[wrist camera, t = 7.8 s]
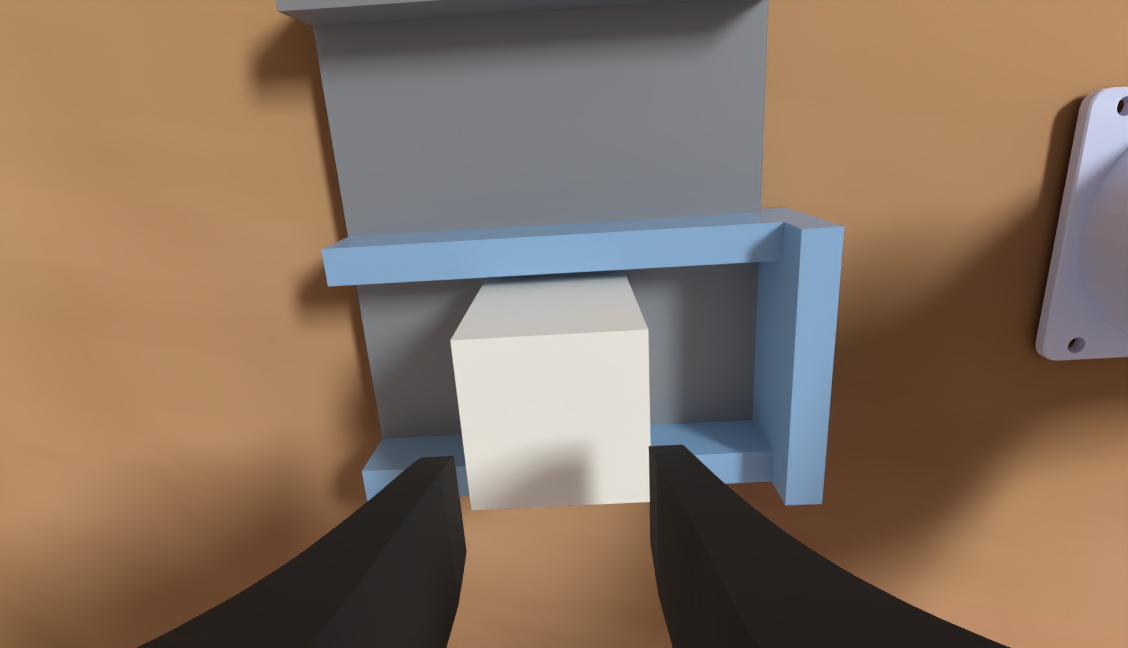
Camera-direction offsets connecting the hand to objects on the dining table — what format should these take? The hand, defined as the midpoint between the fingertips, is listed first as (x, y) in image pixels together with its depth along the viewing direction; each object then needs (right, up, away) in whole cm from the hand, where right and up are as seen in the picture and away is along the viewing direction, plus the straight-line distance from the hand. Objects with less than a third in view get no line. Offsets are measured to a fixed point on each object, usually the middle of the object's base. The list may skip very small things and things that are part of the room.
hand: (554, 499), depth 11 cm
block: (0, +3, +8) cm, 8 cm away
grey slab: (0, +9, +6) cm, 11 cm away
